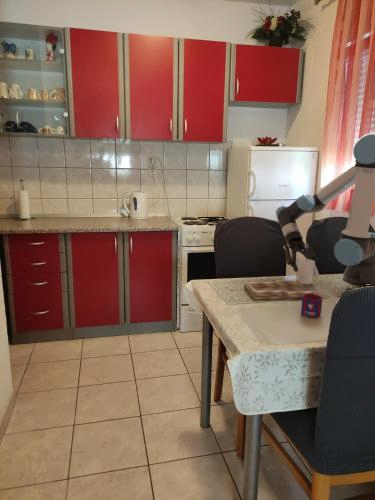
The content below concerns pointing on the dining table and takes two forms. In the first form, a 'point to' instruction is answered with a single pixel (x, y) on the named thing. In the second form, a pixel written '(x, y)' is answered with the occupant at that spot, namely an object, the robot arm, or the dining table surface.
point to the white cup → (305, 270)
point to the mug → (311, 305)
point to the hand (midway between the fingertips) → (308, 276)
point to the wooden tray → (276, 290)
